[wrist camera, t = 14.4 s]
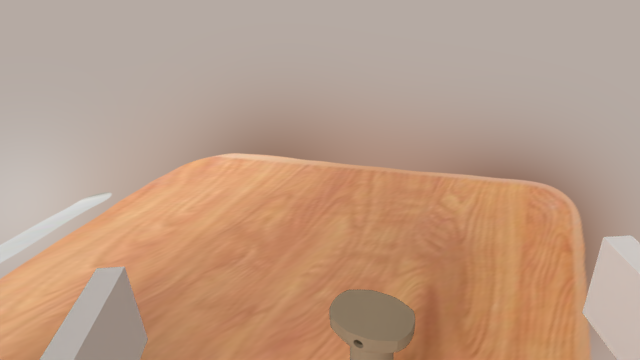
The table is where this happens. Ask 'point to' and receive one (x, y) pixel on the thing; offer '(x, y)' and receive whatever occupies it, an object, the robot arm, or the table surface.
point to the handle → (372, 323)
